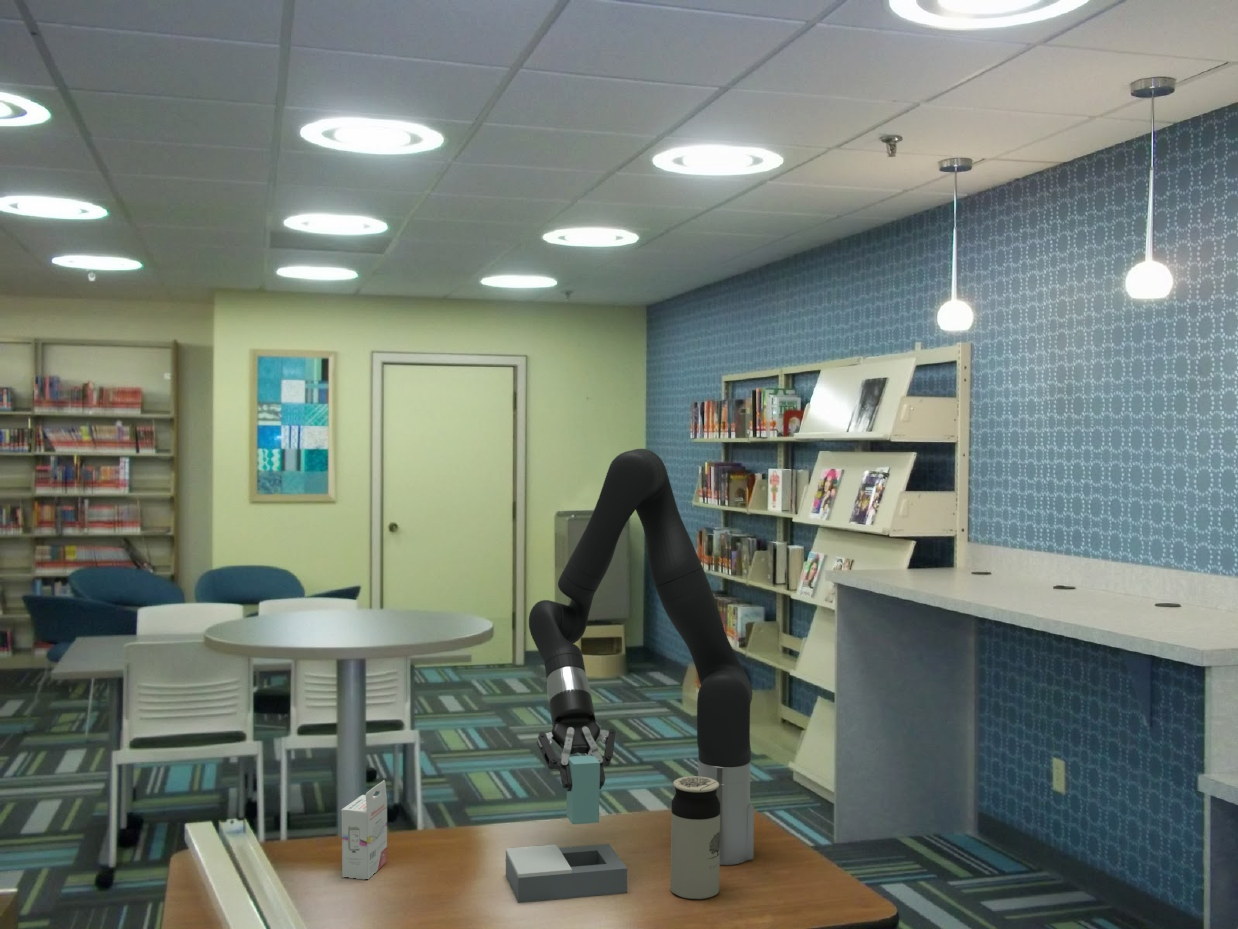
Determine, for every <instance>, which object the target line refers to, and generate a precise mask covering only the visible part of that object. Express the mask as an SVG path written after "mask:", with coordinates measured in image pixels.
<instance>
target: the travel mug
mask: <svg viewBox="0 0 1238 929" xmlns="http://www.w3.org/2000/svg"><path fill="white" fill-rule="evenodd" d="M672 785H673V786H674V790H675V794H674V796H673V798H672V800H671V810H670V811H671V812H670V813H671V815H670V816H671V818H670V819H671V821H670V822H671V827H670V828H671V829H670V831H671V832H670V891H671V892H672V893H673V894H675V895H676V896H678V897H680V898H684V899H687V900H705V899H708V898H712V897H714V896H716V895H718V894H719V892H720V865H719V863H720V801H719V799H718V797H717V795H716V793H717V788H718V787H719V783H718V782H717V781H716V780H714V779H711V778H707V777H698V775H697V776H695V775H694V776H683V777H679V778H676V779H675V780H674V781H673V784H672Z"/></svg>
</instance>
